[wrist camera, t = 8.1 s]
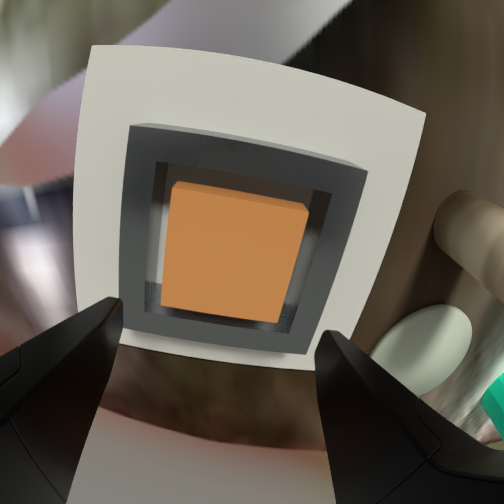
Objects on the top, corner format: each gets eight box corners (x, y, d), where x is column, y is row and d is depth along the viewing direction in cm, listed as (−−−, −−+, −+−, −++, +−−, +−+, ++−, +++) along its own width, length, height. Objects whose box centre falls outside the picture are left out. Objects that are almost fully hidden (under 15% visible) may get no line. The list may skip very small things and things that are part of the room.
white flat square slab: (418, 112, 14) (456, 117, 11) (331, 363, 20) (343, 401, 17) (98, 48, 12) (66, 36, 9) (85, 326, 18) (65, 361, 15)
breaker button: (302, 203, 13) (309, 212, 12) (274, 307, 15) (277, 323, 14) (177, 180, 12) (172, 187, 11) (165, 290, 14) (160, 305, 13)
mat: (485, 308, 19) (489, 313, 19) (433, 393, 23) (435, 398, 22) (396, 297, 18) (400, 303, 18) (345, 397, 22) (347, 403, 21)
